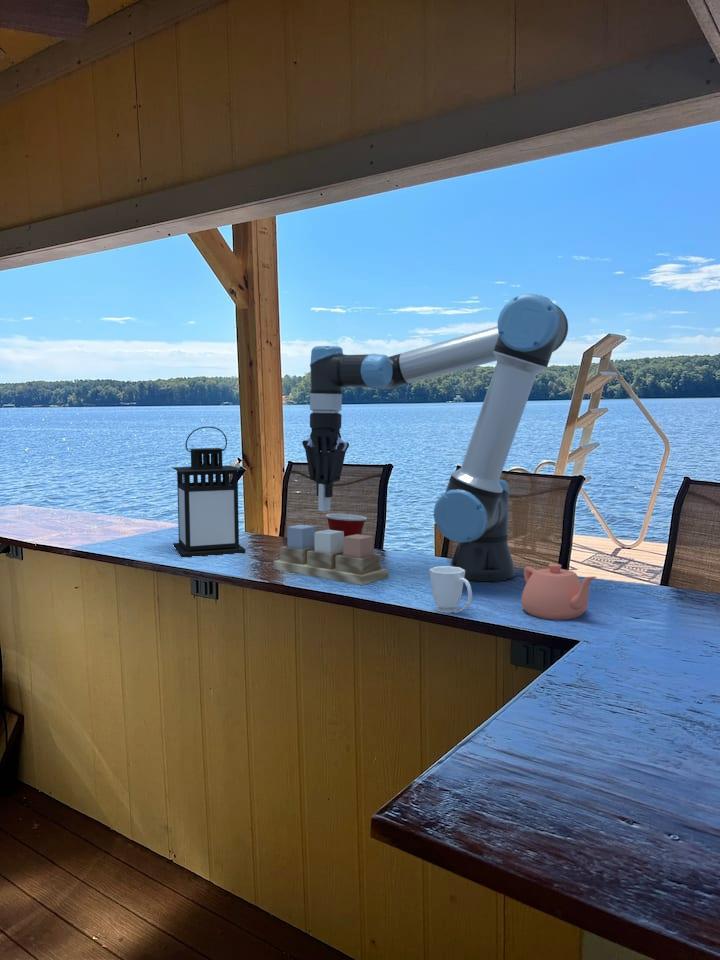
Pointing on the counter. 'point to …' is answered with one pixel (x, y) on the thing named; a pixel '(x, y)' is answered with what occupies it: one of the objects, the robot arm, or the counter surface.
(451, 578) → the cup
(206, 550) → the lantern
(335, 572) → the beige slotted block
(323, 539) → the ivory key
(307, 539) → the slate key
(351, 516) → the plastic cup
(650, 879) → the counter surface
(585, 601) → the teapot
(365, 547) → the terracotta key
